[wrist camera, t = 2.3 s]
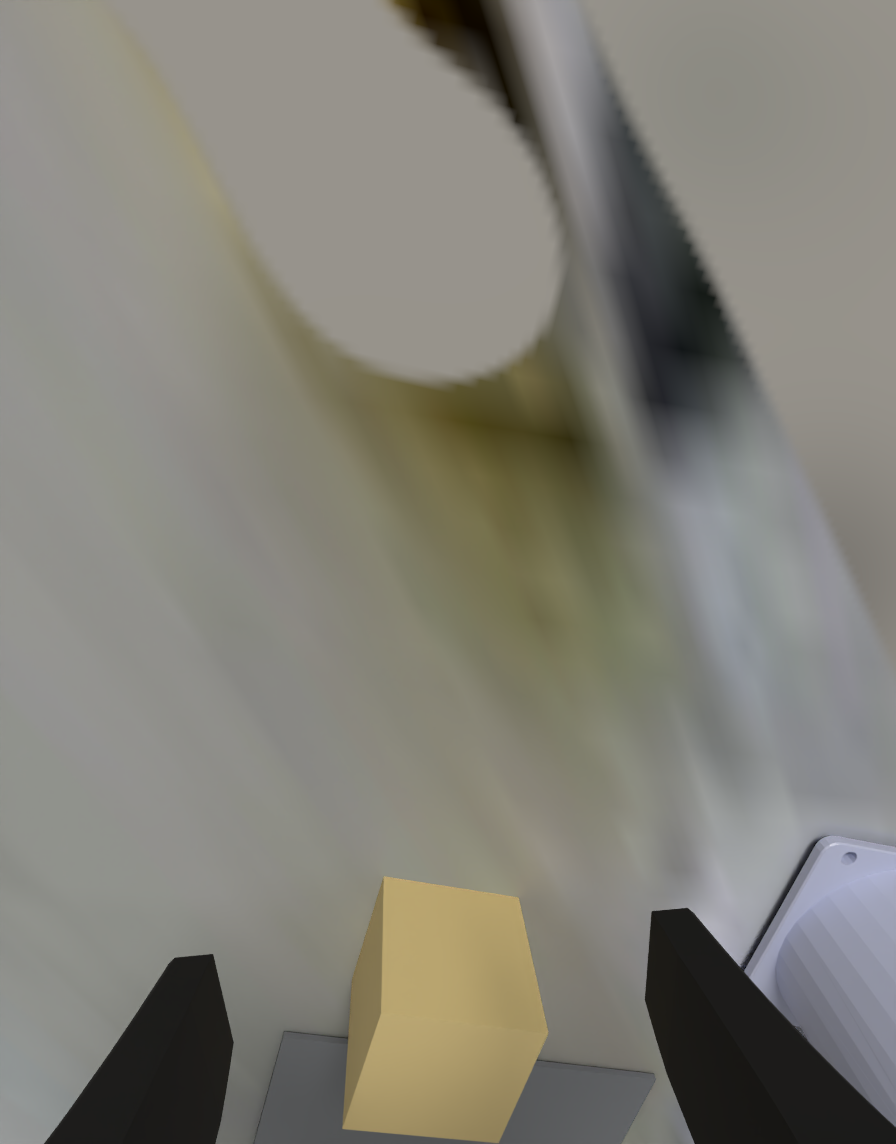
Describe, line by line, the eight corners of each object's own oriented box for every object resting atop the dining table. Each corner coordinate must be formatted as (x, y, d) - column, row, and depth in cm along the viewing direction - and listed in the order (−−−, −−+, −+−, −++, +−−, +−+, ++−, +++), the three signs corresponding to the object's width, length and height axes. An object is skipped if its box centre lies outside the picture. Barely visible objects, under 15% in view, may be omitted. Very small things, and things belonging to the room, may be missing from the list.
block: (517, 895, 21) (548, 1033, 17) (479, 993, 23) (498, 1143, 19) (383, 874, 21) (381, 1013, 16) (352, 977, 22) (342, 1129, 18)
